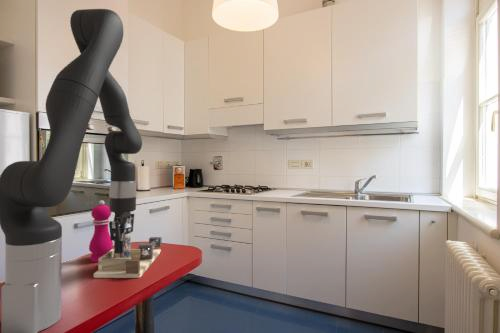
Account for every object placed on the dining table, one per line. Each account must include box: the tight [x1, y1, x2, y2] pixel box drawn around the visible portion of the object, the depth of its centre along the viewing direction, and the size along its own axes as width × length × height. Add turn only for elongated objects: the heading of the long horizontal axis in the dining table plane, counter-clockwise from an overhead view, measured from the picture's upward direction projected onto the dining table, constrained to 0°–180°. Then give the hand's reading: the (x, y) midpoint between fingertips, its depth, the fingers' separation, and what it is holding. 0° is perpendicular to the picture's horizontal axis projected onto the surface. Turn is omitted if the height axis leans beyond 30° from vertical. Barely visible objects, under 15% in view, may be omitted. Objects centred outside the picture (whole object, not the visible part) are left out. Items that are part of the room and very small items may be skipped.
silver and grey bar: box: [141, 236, 162, 257], centre depth 100 cm, size 14×4×3 cm, turn 3°
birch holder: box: [93, 243, 162, 279], centre depth 93 cm, size 23×13×6 cm, turn 3°
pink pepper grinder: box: [88, 200, 114, 263], centre depth 96 cm, size 7×7×20 cm
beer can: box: [113, 223, 132, 258], centre depth 88 cm, size 5×5×12 cm
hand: (122, 250), depth 88 cm, fingers open, 5 cm apart
